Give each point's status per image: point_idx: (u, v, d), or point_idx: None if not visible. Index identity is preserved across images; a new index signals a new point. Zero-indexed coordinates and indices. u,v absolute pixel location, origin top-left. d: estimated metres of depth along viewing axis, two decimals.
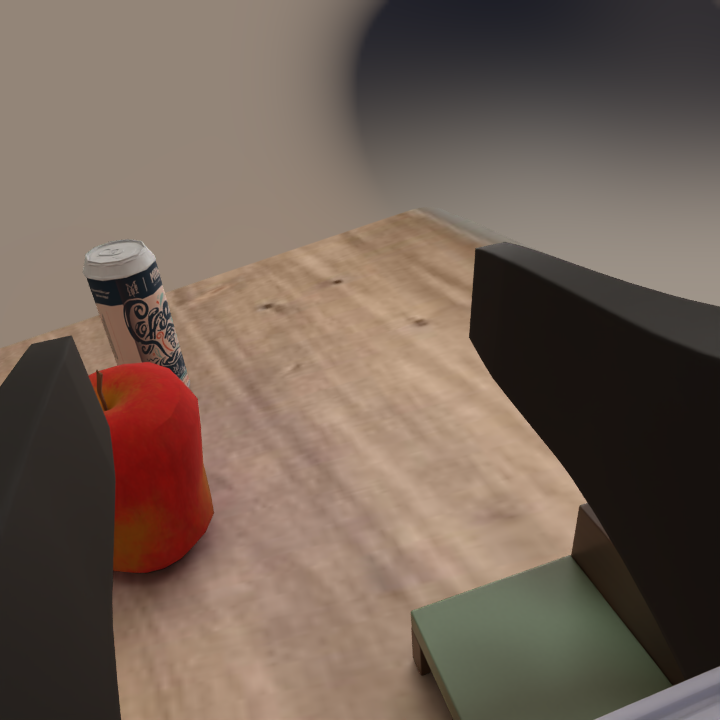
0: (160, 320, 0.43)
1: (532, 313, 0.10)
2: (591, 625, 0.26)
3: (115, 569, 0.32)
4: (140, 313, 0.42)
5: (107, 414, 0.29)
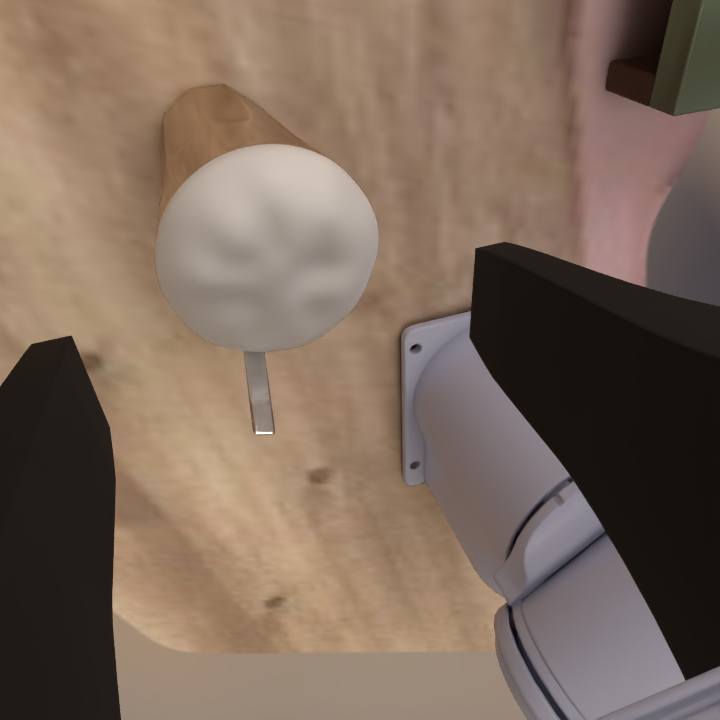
0: None
1: (532, 313, 0.10)
2: None
3: None
4: None
5: None
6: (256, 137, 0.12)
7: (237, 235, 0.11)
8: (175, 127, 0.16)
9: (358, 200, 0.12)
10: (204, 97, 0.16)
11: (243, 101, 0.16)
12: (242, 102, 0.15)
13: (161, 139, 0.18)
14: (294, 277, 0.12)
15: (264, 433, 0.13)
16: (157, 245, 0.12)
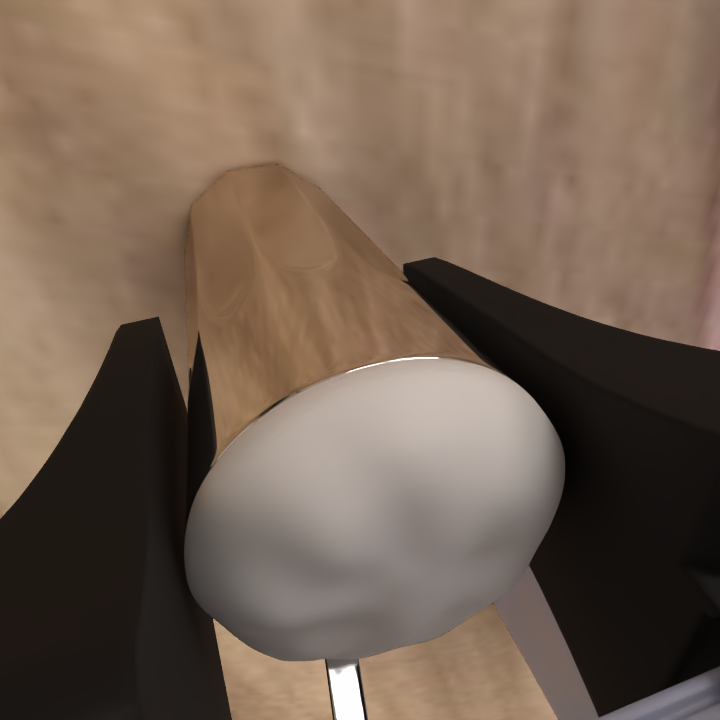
0: None
1: None
2: None
3: None
4: None
5: None
6: (369, 333, 0.07)
7: (346, 551, 0.06)
8: (210, 245, 0.10)
9: (548, 443, 0.07)
10: (252, 194, 0.11)
11: (314, 207, 0.10)
12: (313, 210, 0.10)
13: (187, 242, 0.12)
14: (434, 586, 0.07)
15: None
16: (189, 540, 0.06)
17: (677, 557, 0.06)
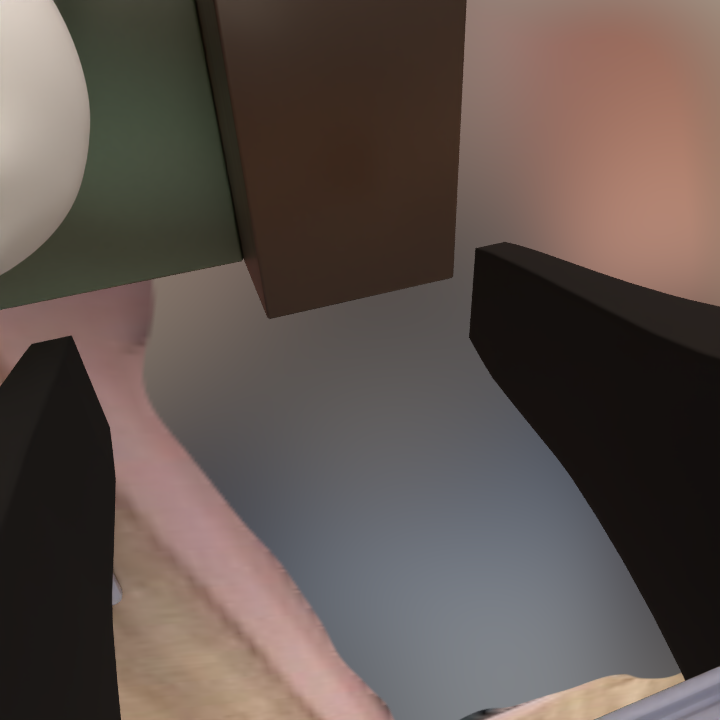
0: None
1: (533, 313, 0.10)
2: None
3: None
4: None
5: None
6: None
7: None
8: None
9: None
10: None
11: None
12: None
13: None
14: None
15: None
16: None
17: None
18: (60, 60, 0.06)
